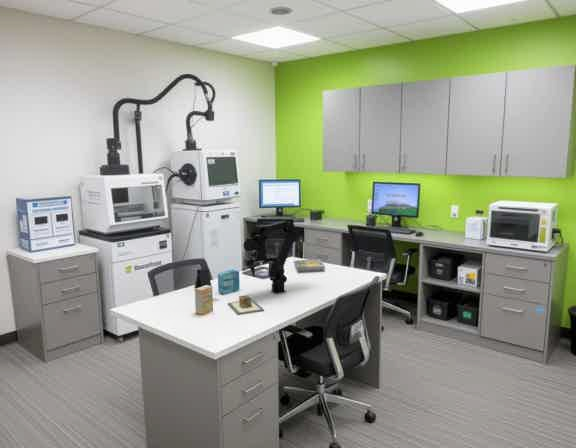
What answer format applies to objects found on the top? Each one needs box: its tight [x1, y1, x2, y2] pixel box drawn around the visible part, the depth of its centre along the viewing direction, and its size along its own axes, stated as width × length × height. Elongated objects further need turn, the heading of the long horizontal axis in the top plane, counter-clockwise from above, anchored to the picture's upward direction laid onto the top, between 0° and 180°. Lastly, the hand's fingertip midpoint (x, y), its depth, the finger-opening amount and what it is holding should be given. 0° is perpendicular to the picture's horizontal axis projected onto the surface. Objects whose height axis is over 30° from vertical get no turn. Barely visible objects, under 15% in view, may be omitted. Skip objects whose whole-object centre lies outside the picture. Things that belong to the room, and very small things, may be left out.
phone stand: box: [194, 267, 212, 289], centre depth 270 cm, size 9×6×12 cm, turn 49°
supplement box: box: [194, 285, 214, 316], centre depth 229 cm, size 8×5×13 cm, turn 148°
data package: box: [217, 269, 240, 295], centre depth 263 cm, size 12×4×12 cm, turn 133°
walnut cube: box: [238, 294, 253, 308], centre depth 236 cm, size 5×5×5 cm
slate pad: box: [227, 299, 265, 316], centre depth 236 cm, size 14×18×1 cm
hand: (261, 275), depth 252 cm, fingers open, 9 cm apart
